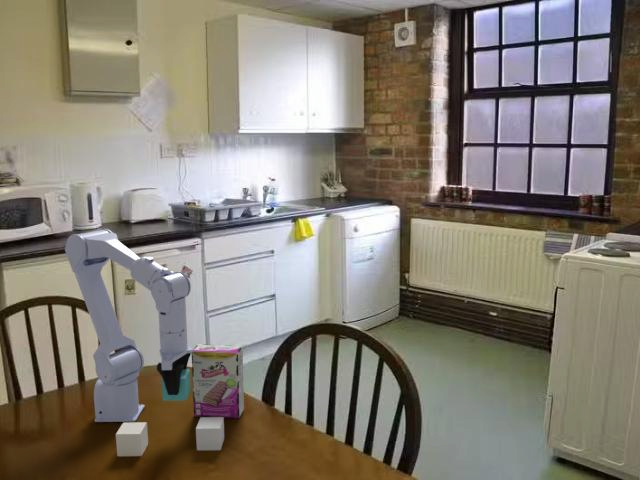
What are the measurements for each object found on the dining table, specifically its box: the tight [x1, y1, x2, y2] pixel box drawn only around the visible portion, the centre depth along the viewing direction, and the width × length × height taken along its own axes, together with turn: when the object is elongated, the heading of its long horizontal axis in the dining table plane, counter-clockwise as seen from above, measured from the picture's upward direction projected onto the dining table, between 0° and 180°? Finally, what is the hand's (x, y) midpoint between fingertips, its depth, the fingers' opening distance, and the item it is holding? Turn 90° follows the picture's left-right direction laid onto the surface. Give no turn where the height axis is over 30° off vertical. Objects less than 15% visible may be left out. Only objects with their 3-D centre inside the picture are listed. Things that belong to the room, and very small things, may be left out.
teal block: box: [161, 368, 192, 402], centre depth 131 cm, size 5×5×5 cm
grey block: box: [195, 417, 225, 451], centre depth 128 cm, size 5×5×5 cm
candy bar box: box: [191, 343, 245, 419], centre depth 141 cm, size 11×5×16 cm, turn 84°
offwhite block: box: [115, 421, 149, 457], centre depth 126 cm, size 5×5×5 cm
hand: (176, 388), depth 131 cm, fingers closed on teal block, 5 cm apart
